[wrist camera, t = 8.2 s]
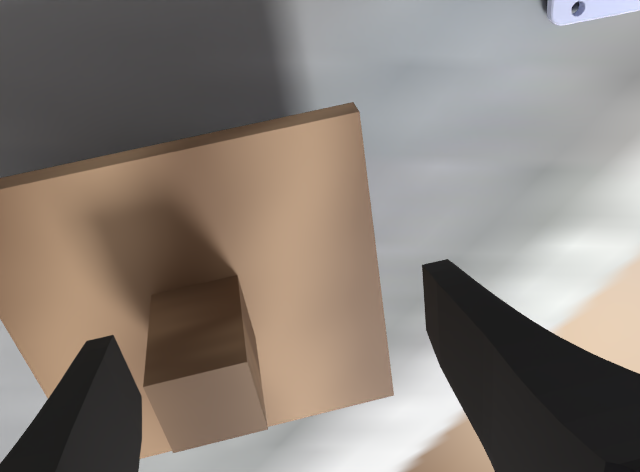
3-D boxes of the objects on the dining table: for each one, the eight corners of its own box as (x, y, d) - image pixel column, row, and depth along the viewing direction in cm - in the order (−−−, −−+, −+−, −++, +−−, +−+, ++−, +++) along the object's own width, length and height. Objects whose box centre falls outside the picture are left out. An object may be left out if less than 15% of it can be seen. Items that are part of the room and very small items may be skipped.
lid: (353, 102, 18) (399, 173, 14) (388, 380, 24) (426, 482, 20) (-58, 190, 17) (-135, 292, 13) (93, 453, 24) (73, 575, 20)
